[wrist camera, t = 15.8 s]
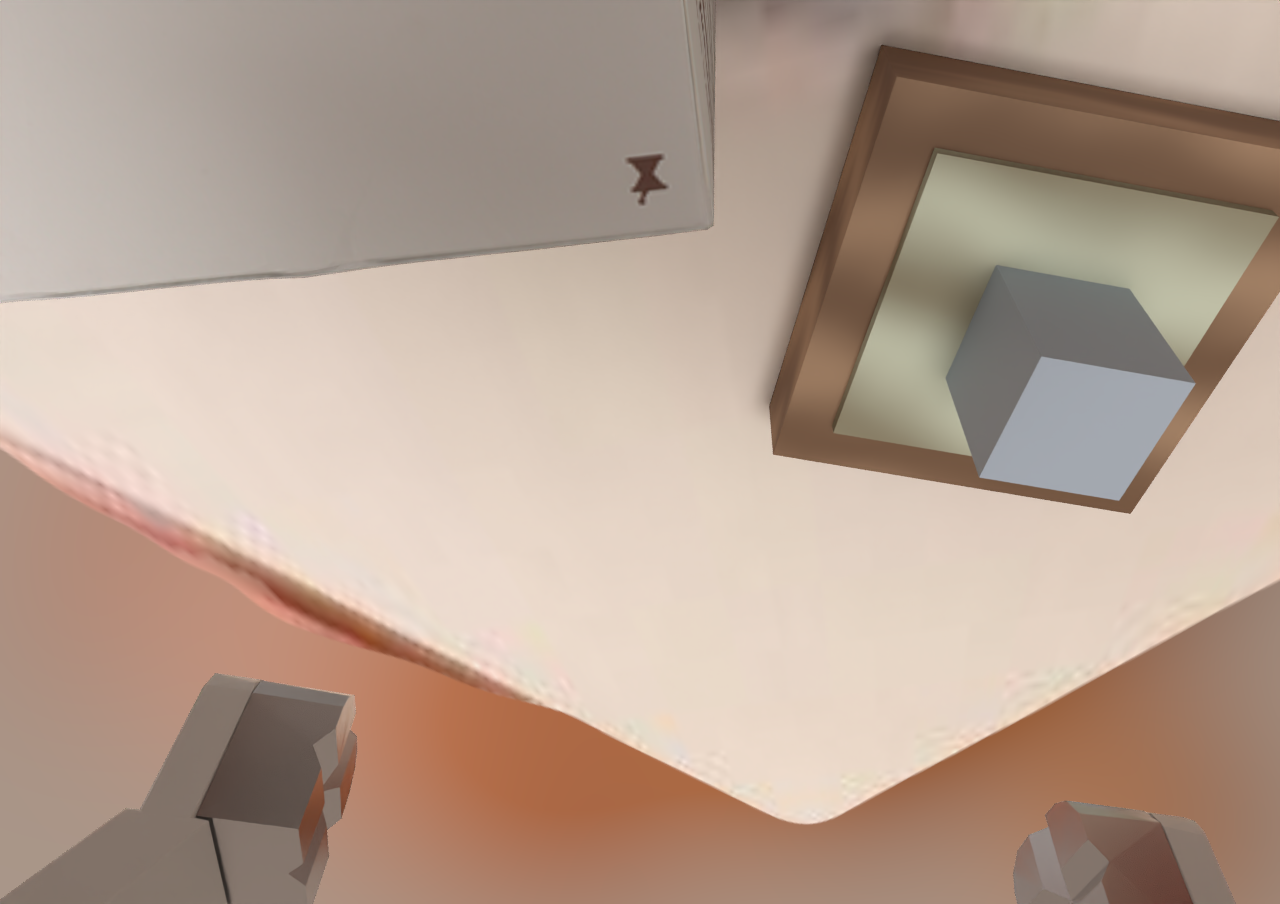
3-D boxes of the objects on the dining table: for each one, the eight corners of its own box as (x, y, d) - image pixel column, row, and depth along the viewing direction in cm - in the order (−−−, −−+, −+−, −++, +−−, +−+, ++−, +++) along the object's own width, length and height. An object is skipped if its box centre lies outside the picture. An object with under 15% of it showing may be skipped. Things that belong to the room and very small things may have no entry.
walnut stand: (881, 45, 33) (899, 81, 30) (1312, 127, 34) (1372, 171, 31) (769, 406, 43) (773, 461, 40) (1104, 463, 44) (1134, 521, 41)
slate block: (996, 264, 34) (1041, 356, 29) (1129, 288, 34) (1195, 383, 30) (945, 378, 37) (979, 477, 32) (1068, 399, 37) (1118, 500, 33)
